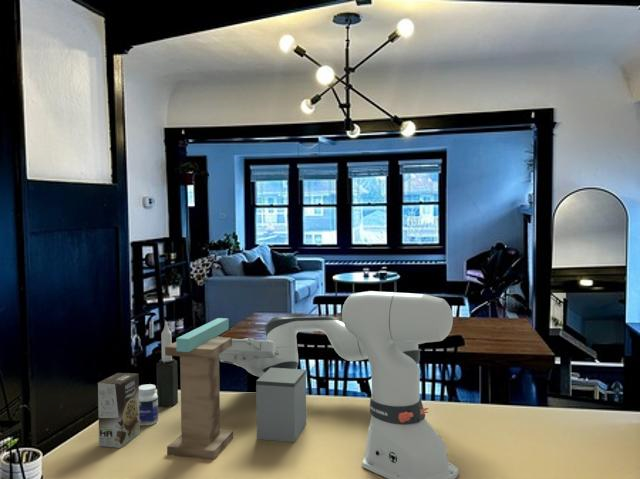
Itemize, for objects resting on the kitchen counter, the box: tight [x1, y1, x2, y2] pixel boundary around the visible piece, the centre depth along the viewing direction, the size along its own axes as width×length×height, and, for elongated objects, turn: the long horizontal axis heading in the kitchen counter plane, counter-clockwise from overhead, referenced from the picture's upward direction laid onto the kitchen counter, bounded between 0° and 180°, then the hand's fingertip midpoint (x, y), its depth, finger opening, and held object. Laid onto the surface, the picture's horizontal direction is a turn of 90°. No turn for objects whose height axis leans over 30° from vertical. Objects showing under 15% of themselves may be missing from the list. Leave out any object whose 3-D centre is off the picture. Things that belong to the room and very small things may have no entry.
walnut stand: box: [165, 336, 234, 460], centre depth 134 cm, size 12×12×26 cm
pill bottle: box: [139, 383, 159, 427], centre depth 150 cm, size 6×6×10 cm
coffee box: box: [97, 372, 141, 449], centre depth 138 cm, size 9×6×16 cm
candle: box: [156, 321, 179, 408], centre depth 164 cm, size 5×5×25 cm
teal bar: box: [175, 317, 230, 352], centre depth 136 cm, size 24×3×3 cm, turn 168°
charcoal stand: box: [255, 368, 307, 443], centre depth 143 cm, size 12×10×15 cm
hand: (234, 340), depth 156 cm, fingers open, 8 cm apart
